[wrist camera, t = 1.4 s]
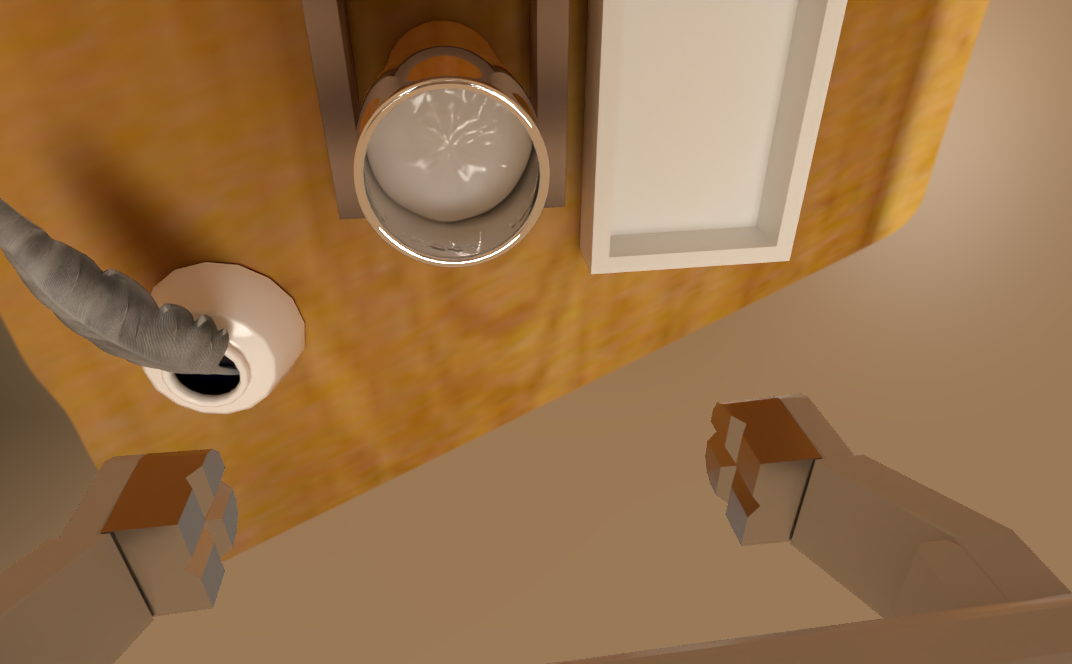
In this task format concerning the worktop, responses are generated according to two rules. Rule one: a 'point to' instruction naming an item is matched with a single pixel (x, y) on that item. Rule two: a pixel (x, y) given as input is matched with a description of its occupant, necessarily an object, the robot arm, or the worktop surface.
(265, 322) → the inkwell
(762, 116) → the cream white tray
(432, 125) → the beer glass
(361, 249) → the worktop surface
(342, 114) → the walnut collar
